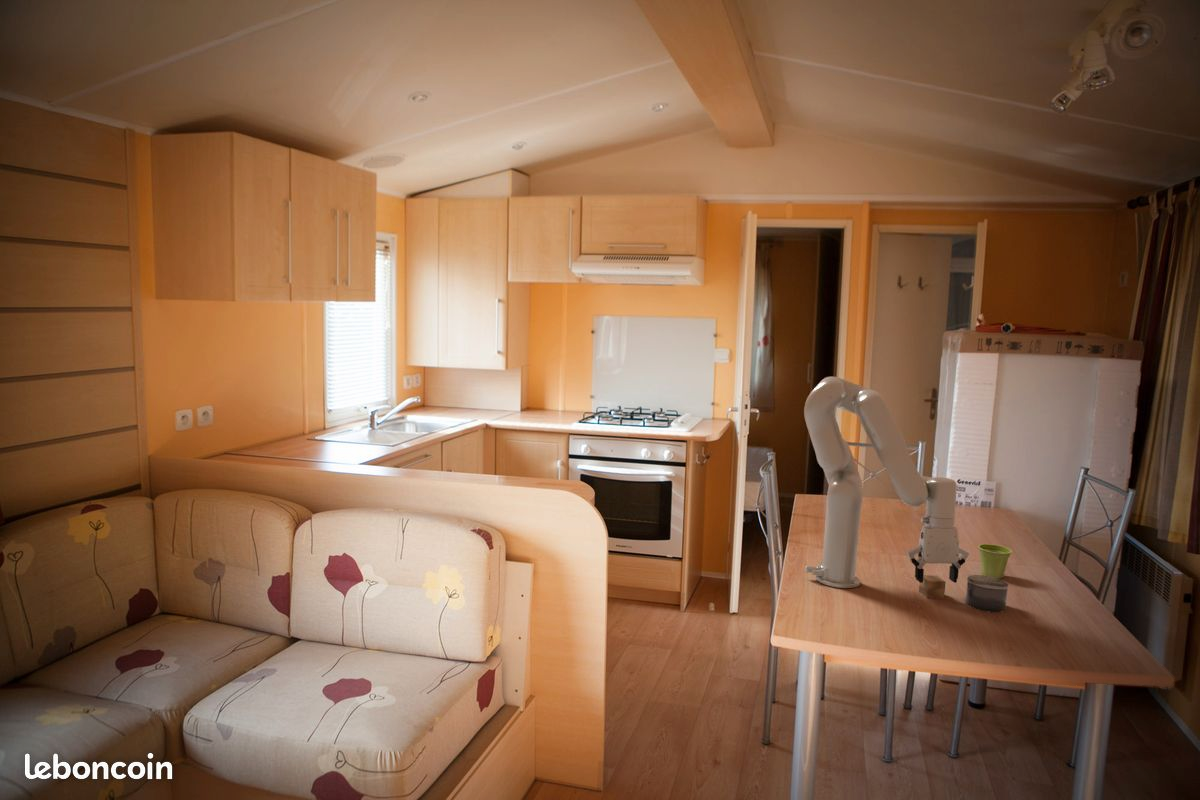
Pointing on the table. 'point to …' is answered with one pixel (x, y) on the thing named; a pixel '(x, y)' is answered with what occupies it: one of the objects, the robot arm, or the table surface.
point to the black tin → (986, 593)
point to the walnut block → (932, 586)
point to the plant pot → (994, 559)
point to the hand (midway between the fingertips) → (936, 581)
